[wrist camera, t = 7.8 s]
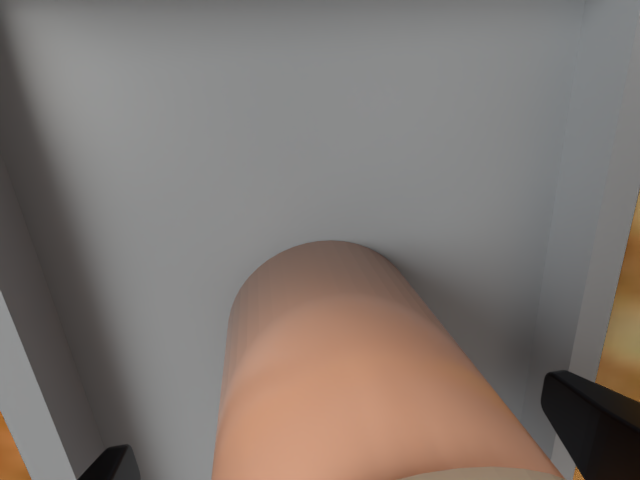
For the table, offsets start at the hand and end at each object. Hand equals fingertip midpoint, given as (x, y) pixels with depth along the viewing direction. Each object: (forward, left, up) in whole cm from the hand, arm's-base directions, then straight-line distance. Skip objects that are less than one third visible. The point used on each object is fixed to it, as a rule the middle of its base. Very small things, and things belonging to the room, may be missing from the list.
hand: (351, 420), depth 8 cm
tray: (0, 0, -4) cm, 4 cm away
